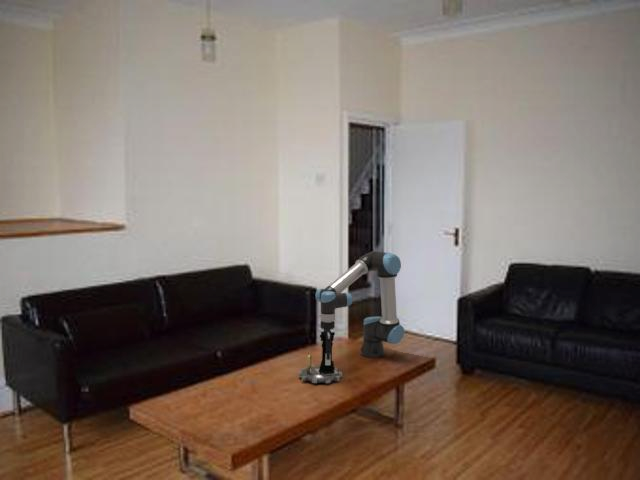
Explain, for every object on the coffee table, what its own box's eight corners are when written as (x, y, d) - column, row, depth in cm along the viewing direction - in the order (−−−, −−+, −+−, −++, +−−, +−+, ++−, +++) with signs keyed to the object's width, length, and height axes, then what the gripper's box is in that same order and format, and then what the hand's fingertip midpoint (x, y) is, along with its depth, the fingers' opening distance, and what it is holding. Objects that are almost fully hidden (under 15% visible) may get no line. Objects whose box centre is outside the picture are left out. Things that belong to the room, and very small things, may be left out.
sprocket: (293, 371, 316) (293, 350, 315) (331, 367, 324) (332, 346, 323) (307, 385, 295) (307, 362, 294) (348, 380, 303) (348, 358, 302)
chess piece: (334, 368, 313) (335, 332, 311) (333, 372, 305) (334, 336, 303) (320, 367, 314) (320, 331, 312) (318, 372, 306) (319, 335, 304)
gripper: (318, 316, 316) (318, 357, 319) (322, 325, 296) (322, 369, 299) (332, 316, 317) (331, 356, 319) (337, 325, 297) (336, 368, 300)
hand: (327, 362), depth 309 cm, fingers closed on chess piece, 7 cm apart
